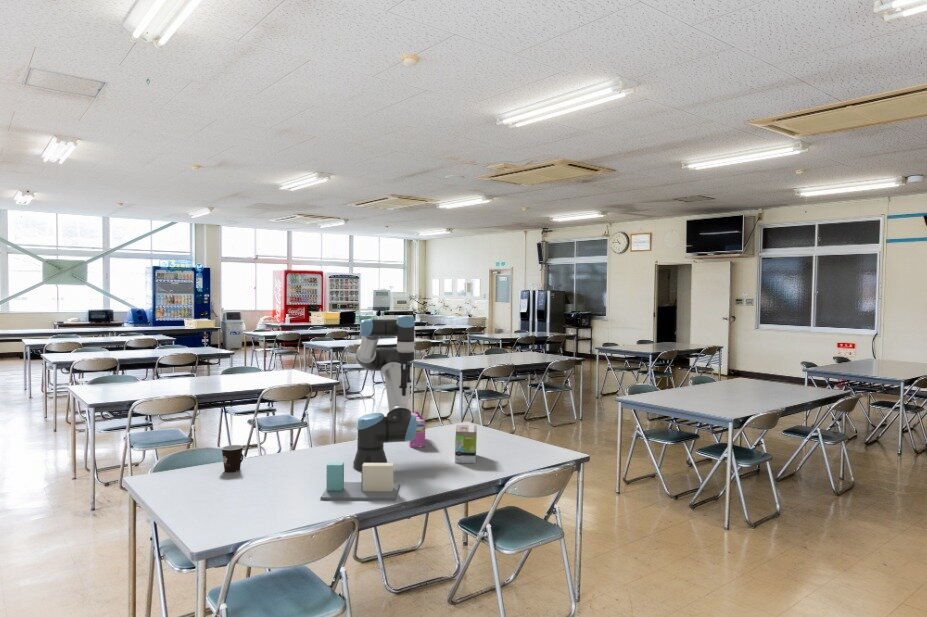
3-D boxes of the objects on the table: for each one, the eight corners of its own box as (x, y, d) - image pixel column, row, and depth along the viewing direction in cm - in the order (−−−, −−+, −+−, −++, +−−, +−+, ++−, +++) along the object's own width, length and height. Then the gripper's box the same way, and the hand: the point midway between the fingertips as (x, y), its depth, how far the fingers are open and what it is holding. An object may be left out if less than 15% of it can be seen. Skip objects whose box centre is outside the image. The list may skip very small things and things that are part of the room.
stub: (326, 490, 230) (326, 465, 230) (328, 487, 234) (328, 462, 234) (342, 490, 230) (342, 465, 230) (343, 487, 234) (344, 462, 234)
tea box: (476, 463, 272) (476, 431, 272) (454, 463, 273) (454, 431, 272) (476, 454, 287) (476, 424, 287) (455, 454, 288) (455, 424, 287)
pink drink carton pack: (403, 436, 322) (403, 411, 322) (418, 435, 324) (418, 411, 324) (410, 447, 299) (410, 421, 299) (425, 447, 301) (425, 420, 301)
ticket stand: (320, 499, 223) (320, 470, 223) (330, 484, 241) (330, 457, 241) (394, 500, 223) (395, 471, 223) (399, 484, 241) (399, 458, 241)
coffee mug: (220, 468, 261) (220, 446, 260) (241, 466, 265) (241, 444, 264) (223, 476, 250) (223, 452, 250) (244, 473, 254) (244, 450, 254)
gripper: (412, 354, 243) (411, 405, 244) (416, 348, 268) (415, 395, 269) (393, 354, 243) (393, 405, 244) (399, 348, 268) (399, 395, 269)
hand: (405, 400), depth 256 cm, fingers open, 13 cm apart
